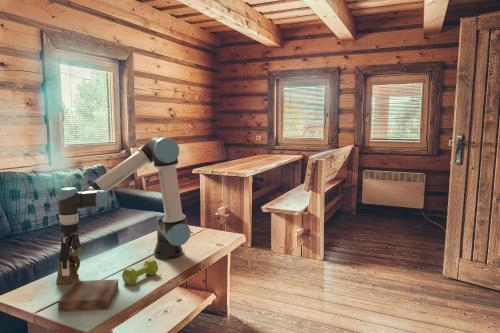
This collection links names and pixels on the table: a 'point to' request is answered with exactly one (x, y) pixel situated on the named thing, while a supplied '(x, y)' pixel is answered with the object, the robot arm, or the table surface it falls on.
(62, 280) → the wooden mug
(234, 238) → the table surface
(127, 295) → the table surface
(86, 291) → the walnut stand
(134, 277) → the dumbbell
